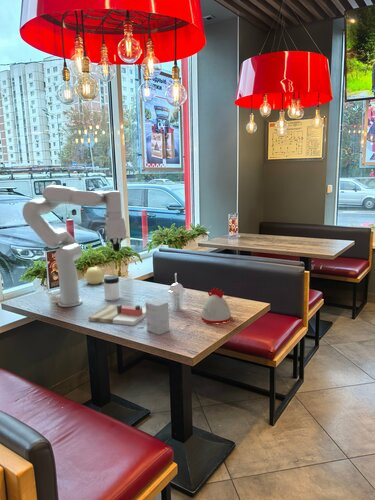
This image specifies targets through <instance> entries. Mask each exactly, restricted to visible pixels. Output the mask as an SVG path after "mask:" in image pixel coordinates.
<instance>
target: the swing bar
mask: <svg viewBox="0 0 375 500" xmlns="http://www.w3.org/2000/svg"><path fill="white" fill-rule="evenodd" d="M123 306H124V307H122V308H121V314H128V315H135V316H140V315H142V308H143V307H142V308H140V306H141V305H138V304H137V305H134V306H135V307H134V306H127V305H123Z"/></svg>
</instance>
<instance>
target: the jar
mask: <svg viewBox="0 0 375 500" xmlns="http://www.w3.org/2000/svg"><path fill="white" fill-rule="evenodd" d="M103 287H104V288H103V289H104V300H105V301H106V300H107V301H115V300H119V299H120V298H121V289H120V288H121V287H120V279H119V276H118V275H107V276H104V279H103Z"/></svg>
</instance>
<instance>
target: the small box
mask: <svg viewBox="0 0 375 500" xmlns="http://www.w3.org/2000/svg"><path fill="white" fill-rule="evenodd" d="M145 308H146V316H145V317H146V320H145V321H146V331H147V332H151V333H153V334H155V335H159V336H160V335H162V334H165V333H166V332H167V333H168V332H169V331H170V317H169V316H170V315H169V302H168V301H164V300H160V299H157V298H155V299H151V300H149V301H146V302H145Z"/></svg>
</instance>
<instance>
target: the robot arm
mask: <svg viewBox="0 0 375 500" xmlns="http://www.w3.org/2000/svg"><path fill="white" fill-rule="evenodd" d="M61 204H68V205H73V206H78V207H79V206H80V207H89V208H94V207H101V206H105V209H106V210H105V211H106V212H105V214H104V213H103V216H104V217H105V221H104V236H105V241H107V242H110V243H111V244H112V249H113V252H116V253H117V252H120V249H121V247H120V244H121V242H122V241H124V240H126V238H127V227H126V222H125V219H124V217H123V214H122V198H121V192H120V191H119V190H108V191H107V190H106V191H105V190H94V191H93V190H92V191H88V190H80V189H79V190H78V189H76V188H75V187H71V186H62V185H58V184H57V185H48V186H46V187H45V188H43V190H42V198H36V199H35V198H34V199H31V200H28V201H26V203H24V205H23V207H22V217H23V220H24V222H26V224H27V225H28V226H29V227H30V228H31V230H33V231H34V233H35V234H36V235H37V236H38V238H40V240H41V241H42V242H43V243H44V244H45V246H46V247H47V248H50V249H56V248H58V249H57V250H56V251H55V254H54V259H55V263H56V267H57V274H58V275H57V276H58V283H59V294H56V296H55V297H54V299H55V300H58V302H57V305H58V306H59V307H61V308H62V307H63V308H70V307H77V306H80V305H81V304H82V303H83V299H82V298H80V291H79V281H78V271H77V266H76V264H75V261H77V260H80V258H81V257H82V256H83V249H82V247H81V245H80V244H79V243H78V241H76V239H75V238H74V237H73V236H72V235H71V233H70V232H69V231H67V230H66V229H65V228H54V227H53V226H52V224H51V223H50V222H49V221H48V220H46V219H45V218H44V217H42V216H43V215H48V214H50V213H51V212H53V210H55V209H56V208H57V207H59V205H61Z"/></svg>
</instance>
